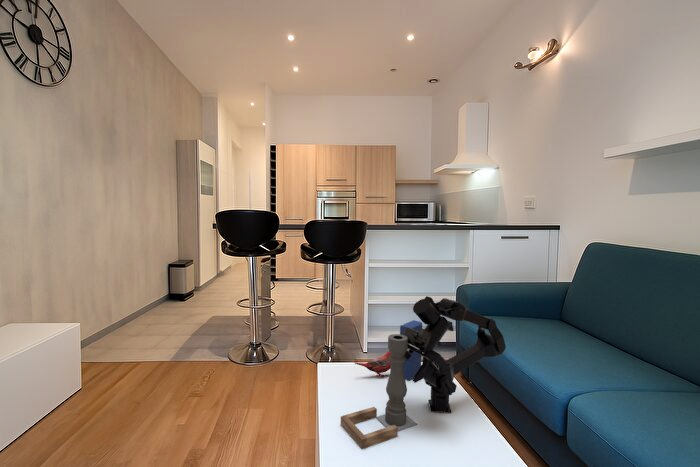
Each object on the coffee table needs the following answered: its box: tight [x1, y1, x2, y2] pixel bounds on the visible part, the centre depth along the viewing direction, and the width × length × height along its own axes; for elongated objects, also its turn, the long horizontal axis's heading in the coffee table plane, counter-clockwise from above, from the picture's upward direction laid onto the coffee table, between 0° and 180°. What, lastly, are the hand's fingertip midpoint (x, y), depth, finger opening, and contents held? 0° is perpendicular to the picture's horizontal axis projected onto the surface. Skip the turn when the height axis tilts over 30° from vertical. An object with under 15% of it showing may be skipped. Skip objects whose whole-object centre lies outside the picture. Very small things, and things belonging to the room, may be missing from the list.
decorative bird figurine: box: [354, 351, 391, 377], centre depth 134 cm, size 3×18×10 cm, turn 103°
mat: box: [375, 413, 418, 432], centre depth 106 cm, size 9×8×1 cm
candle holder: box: [384, 333, 408, 427], centre depth 105 cm, size 6×6×25 cm
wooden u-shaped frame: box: [340, 406, 399, 449], centre depth 101 cm, size 12×12×2 cm
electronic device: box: [399, 319, 423, 381], centre depth 136 cm, size 10×5×20 cm, turn 141°
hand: (403, 375), depth 106 cm, fingers open, 9 cm apart
